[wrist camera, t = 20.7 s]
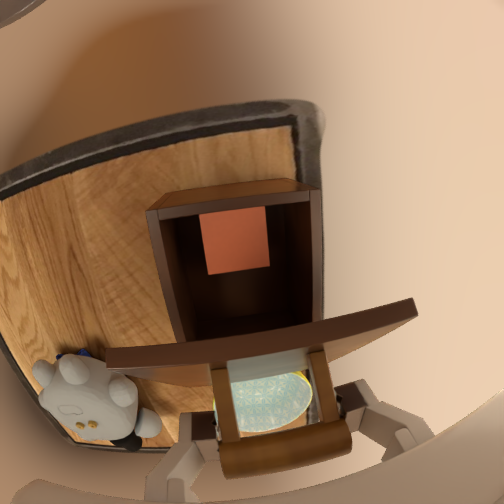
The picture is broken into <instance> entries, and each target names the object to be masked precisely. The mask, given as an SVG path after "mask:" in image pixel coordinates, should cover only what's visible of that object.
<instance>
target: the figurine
mask: <svg viewBox="0 0 504 504" xmlns="http://www.w3.org/2000/svg"><path fill="white" fill-rule="evenodd" d="M56 359H57V361H55V363H54V364H53V365H52V364H51V363H49V362H48V361H46V360H38V361H36V362H35V363H34V365H33V368H32V372H33V375H34V377H35V379H36V380H37V381H38V383H39V384H40V385H41V386H42V387H43V388H44V389H43V390H42V391H41V392H40V394H39V402H40V404H41V405H42V407H43V408H45V409H46V410H48V411H50V413H51V414H52V415H53V416H54V417H55V418H56V419H57V420H58V421H59V422H60V423H62V424H63V425H65V426H66V427H68V428H69V429H71V430H72V431H74V432H76V433H77V434H78V435H79V436H80V437H81V438H83V439H84V440H87V441H95V440H97V439H98V440H110V442H111V443H112V444H114V445H115V446H119V447H121V446H123V447H124V448H126V449H127V450H129V451H131V452H135V451H138V450H139V449H140V448H141V447H142V439H141V437H144V438H152V437H155V436H157V435H158V434H159V433H160V431H161V428H162V420H161V418H160V417H159V415H158V414H157V413H155V412H154V411H152V410H150V409H147V408H144V407H143V408H141V409H140V411H139V413H138V416H137V409H138V389H137V387H136V385H135V383H134V382H132V381H131V380H130V379H128V378H127V377H126V376H125V375H124V374H121V373H117V372H113V371H110V370H107V369H106V363H105V362H103V361H100V360H98V359H95V358H92V357H91V356H90V354H89V353H88V352H87V351H86V350H85V349H81V350H80V351H79V352H78V353H77V354H76V355H75V354H71V353H70V354H65V355H63V354H58V355H57V356H56ZM136 418H137V419H136ZM135 423H136V424H135ZM134 427H135V432H134ZM140 436H141V437H140Z"/></svg>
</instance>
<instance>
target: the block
mask: <svg viewBox="0 0 504 504" xmlns="http://www.w3.org/2000/svg"><path fill="white" fill-rule="evenodd" d="M199 219H200V226H201V232H202V239H203V245H204V251H205V257H206V263H207V269H208V274H209V275H211V274H218V273H225V272H232V271H239V270H246V269H253V268H260V267H267V266H270V262H269V249H268V237H267V225H266V214H265V206H261V207H253V208H245V209H237V210H229V211H222V212H214V213H207V214H200V215H199Z"/></svg>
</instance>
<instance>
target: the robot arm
mask: <svg viewBox="0 0 504 504" xmlns="http://www.w3.org/2000/svg"><path fill="white" fill-rule="evenodd" d="M334 392H335V397H336V402H337V407H338V412H339V416H341V417H342V418H344V420H345V421H346V423H347V425H348V427H349V429H350V432H351V433H352V432H355V431H358V430H359V432H361V433H362V434H364V435H366V436H367V437H369V438H370V439H372V440H374V441H375V442H377V443H378V444H380V445H382V446H383V447H385V448H387V449H386V451H385V453H384V455H383V457H382V459H381V460H382V463H379V464H377V465H374V466H372V467H369V468H367V469H364V470H362V471H359V472H356V473H354V474H351V475H348V476H345V477H342V478H339V479H335V480H332V481H329V482H325V483H322V484H318V485H315V486H311V487H307V488H303V489H299V490H295V491H289V492H285V493H280V494H274V495H269V496H262V497H256V498H248V499H240V500H230V501H217V502H199V501H200V500H199V498H198V497H197V496H196V495H195V493H194V492H193V491H192V490H191V488H190V487H191V485H192V484H193V482H194V481H195V479H196V477H197V476H198V474H199V473H200V471H201V469H202V468H203V466H204V464H205V462H207V461H217V460H220V456H219V441H220V440H222V438H221V433H220V428H219V422H218V419H217V413H216V411H204V412H188V413H181V414H180V419H179V440H178V443H174V445H173V446H172V447H171V448H170V449H169V451H168V452H167V453H166V454H165V455H164V456H163V458H162V459H161V460H160V461H159V462H158V464H157V465H156V466H155V467H154V468H153V469H152V470H151V472H150V473H149V474H148V475H147V476H146V483H145V496H144V501H143V500H132V499H125V498H117V497H111V496H105V495H100V494H94V493H90V492H85V491H81V490H77V489H73V488H69V487H65V486H61V485H58V484H54V483H51V482H48V481H45V480H42V479H36V480H34V481H32V482H30V483H29V484H27V485H25V486H24V487H23V488H21V489H20V490H18V491H17V492H16V494H15V495H14V497H13V499H12V502H11V503H10V504H504V388H503V389H502V390H501V391H499V392H498V393H497V394H496V395H495V396H493V397H492V398H491V399H489V400H488V401H487V402H486V403H484V404H483V405H482V406H480V407H479V408H477V409H476V410H475V411H473V412H472V413H470V414H469V415H468V416H466V417H465V418H463V419H462V420H460V421H459V422H457V423H456V424H454V425H452V426H451V427H449V428H448V429H446V430H444V431H443V432H441V433H439V434H438V435H436V436H435V435H434V434H433V432H432V431H431V429H430V428H429V427H428V425H427V424H426V422H425V421H424V420H423V418H421V417H418V416H416V415H413V414H411V413H408V412H406V411H403V410H401V409H399V408H397V407H394V406H392V405H390V404H387V403H385V402H383V401H381V402H379V401H378V399H377V398H376V396H375V395H374V394H373V392H372V390H371V389H370V387H369V386H368V384H367V383H366V381H365V380H364V379H361V380H357V381H354V382H350V383H347V384H344V385H341V386H337V387H334Z"/></svg>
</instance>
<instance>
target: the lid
mask: <svg viewBox="0 0 504 504" xmlns="http://www.w3.org/2000/svg"><path fill="white" fill-rule="evenodd" d="M417 316H418V311H417V308H416V305H415V302H414V300H413V298H408V299H405V300H402V301H398V302H394V303H391V304H387V305H383V306H379V307H375V308H371V309H368V310H364V311H359V312H355V313H352V314H347V315H343V316H338V317H334V318H329V319H325V320H320V321H315V322H310V323H306V324H301V325H295V326H290V327H285V328H279V329H274V330H268V331H262V332H256V333H250V334H243V335H237V336H230V337H223V338H215V339H207V340H199V341H191V342H181V343H171V344H161V345H149V346H135V347H119V348H106V349H105V352H106V369H107V370H110V371H113V372H117V373H121V374H125V375H129V376H133V377H138V378H142V379H147V380H151V381H156V382H161V383H166V384H172V385H177V386H183V387H189V388H191V387H201V386H211V385H212V387H213V393H214V399H215V405H216V411H217V417H218V422H219V428H220V433H221V438H222V440H220V441H219V456H220V462H221V467H222V471H223V474H224V477H225V478H226V479H238V478H246V477H253V476H260V475H265V474H271V473H277V472H282V471H286V470H291V469H296V468H300V467H304V466H308V465H312V464H316V463H320V462H323V461H327V460H330V459H333V458H336V457H340V456H343V455H346V454H349V453H350V452H351V450H352V437H351V432H350V429H349V427H348V425H347V423H346V421H345V420H344V418H342V417H341V416H339V412H338V407H337V402H336V397H335V392H334V388H333V383H332V379H331V374H330V370H329V365H328V363H329V362H331V361H333V360H335V359H338V358H340V357H342V356H344V355H346V354H348V353H350V352H352V351H354V350H356V349H359V348H361V347H363V346H365V345H366V344H368V343H370V342H372V341H374V340H376V339H378V338H380V337H382V336H384V335H386V334H387V333H389V332H391V331H393V330H395V329H396V328H398V327H400V326H402V325H404V324H405V323H407V322H408V321H410V320H412V319H414V318H415V317H417ZM305 369H309V371H310V376H311V380H312V385H313V390H314V395H315V400H316V404H317V409H318V414H319V419H320V422H317V423H313V424H309V425H305V426H301V427H296V428H292V429H287V430H283V431H278V432H272V433H267V434H261V435H255V436H249V437H242V438H240V432H239V427H238V422H237V416H236V411H235V405H234V400H233V394H232V388H231V383H234V382H241V381H248V380H254V379H260V378H266V377H271V376H276V375H282V374H287V373H292V372H296V371H301V370H305Z"/></svg>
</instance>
